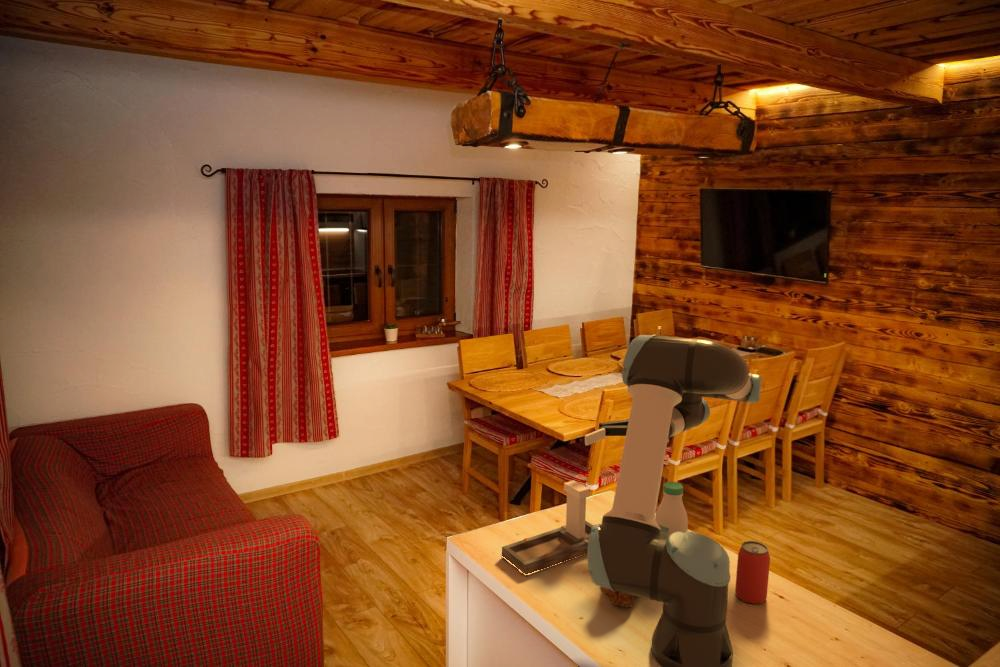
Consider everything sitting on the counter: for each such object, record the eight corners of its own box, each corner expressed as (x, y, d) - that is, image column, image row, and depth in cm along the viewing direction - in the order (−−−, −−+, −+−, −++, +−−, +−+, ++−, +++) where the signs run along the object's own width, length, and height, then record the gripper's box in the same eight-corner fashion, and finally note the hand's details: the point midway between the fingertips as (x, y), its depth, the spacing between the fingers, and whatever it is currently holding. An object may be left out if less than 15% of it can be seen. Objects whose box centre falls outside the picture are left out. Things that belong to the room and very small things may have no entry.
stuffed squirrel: (646, 582, 157) (648, 529, 154) (641, 618, 144) (644, 561, 141) (602, 576, 160) (604, 524, 157) (594, 611, 146) (595, 554, 144)
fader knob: (574, 531, 177) (575, 479, 174) (591, 542, 172) (593, 488, 169) (559, 536, 175) (560, 483, 172) (575, 547, 169) (577, 493, 166)
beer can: (735, 602, 150) (739, 552, 147) (734, 586, 156) (738, 537, 153) (767, 607, 148) (772, 556, 145) (765, 591, 154) (769, 542, 151)
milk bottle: (682, 554, 169) (687, 479, 165) (687, 571, 162) (692, 492, 158) (650, 553, 170) (654, 477, 166) (654, 569, 162) (658, 491, 158)
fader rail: (583, 529, 181) (583, 518, 181) (609, 545, 173) (609, 534, 173) (501, 558, 167) (501, 546, 167) (525, 576, 159) (525, 564, 159)
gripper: (699, 454, 174) (640, 483, 163) (629, 422, 194) (571, 445, 183) (700, 428, 172) (640, 455, 161) (629, 397, 191) (571, 420, 180)
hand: (603, 450), depth 172 cm, fingers open, 13 cm apart
